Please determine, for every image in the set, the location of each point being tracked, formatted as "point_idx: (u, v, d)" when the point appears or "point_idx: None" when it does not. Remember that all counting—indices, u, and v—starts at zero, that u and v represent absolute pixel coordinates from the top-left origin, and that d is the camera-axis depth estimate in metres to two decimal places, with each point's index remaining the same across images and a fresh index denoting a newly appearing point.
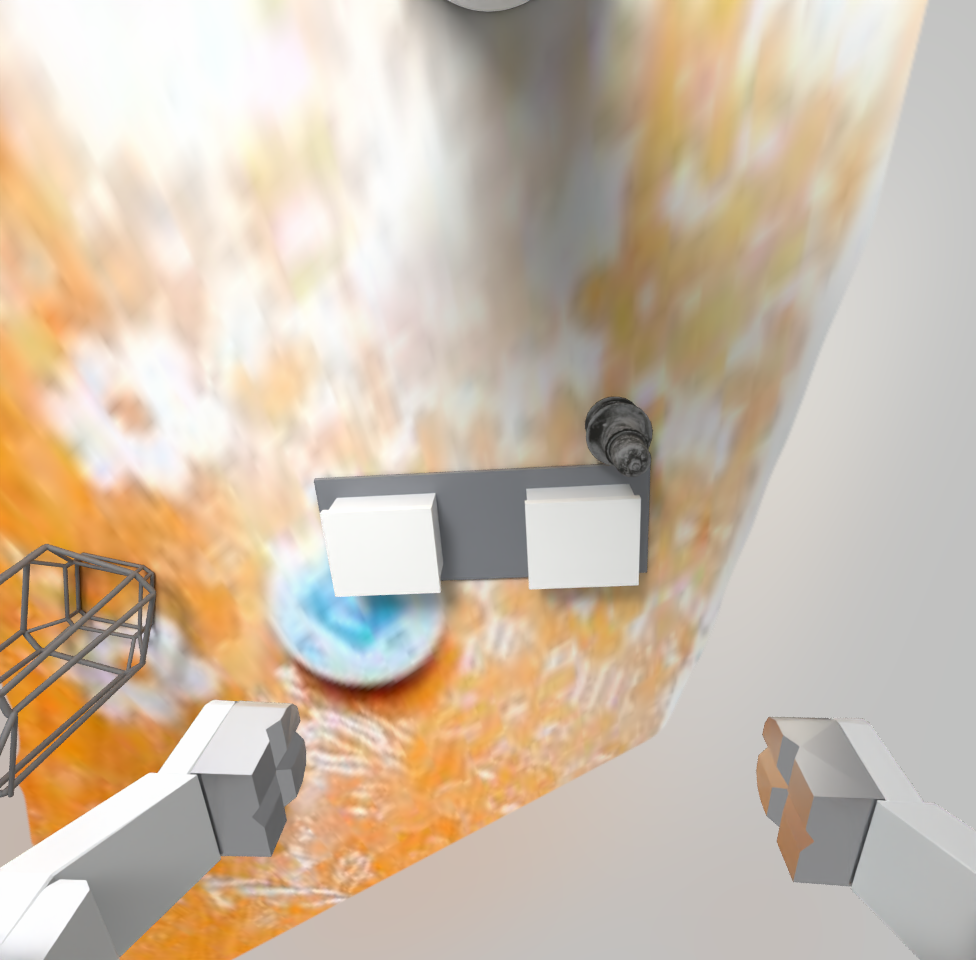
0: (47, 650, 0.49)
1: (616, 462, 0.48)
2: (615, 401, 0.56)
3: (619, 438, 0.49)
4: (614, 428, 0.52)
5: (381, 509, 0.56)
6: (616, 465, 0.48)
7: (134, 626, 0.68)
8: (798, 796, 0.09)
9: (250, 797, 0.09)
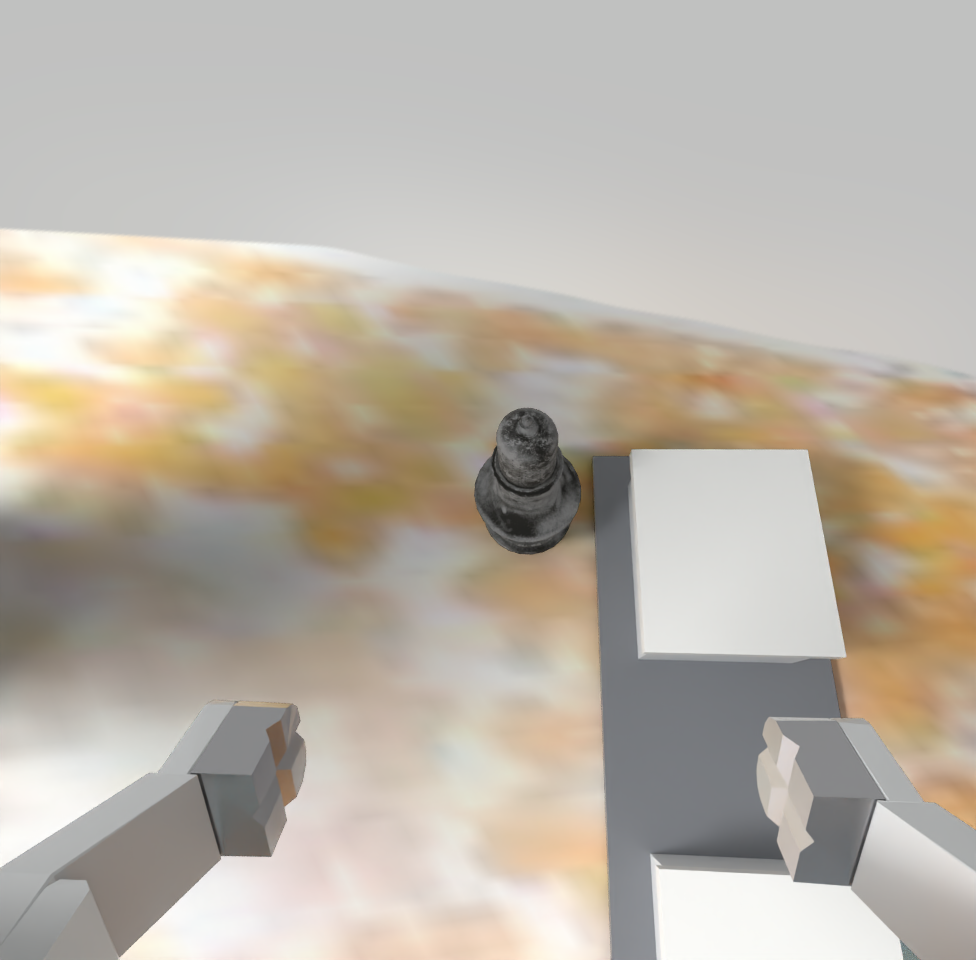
0: None
1: (527, 461, 0.27)
2: None
3: (502, 469, 0.29)
4: (503, 490, 0.31)
5: None
6: (533, 461, 0.27)
7: None
8: (798, 796, 0.09)
9: (250, 797, 0.09)
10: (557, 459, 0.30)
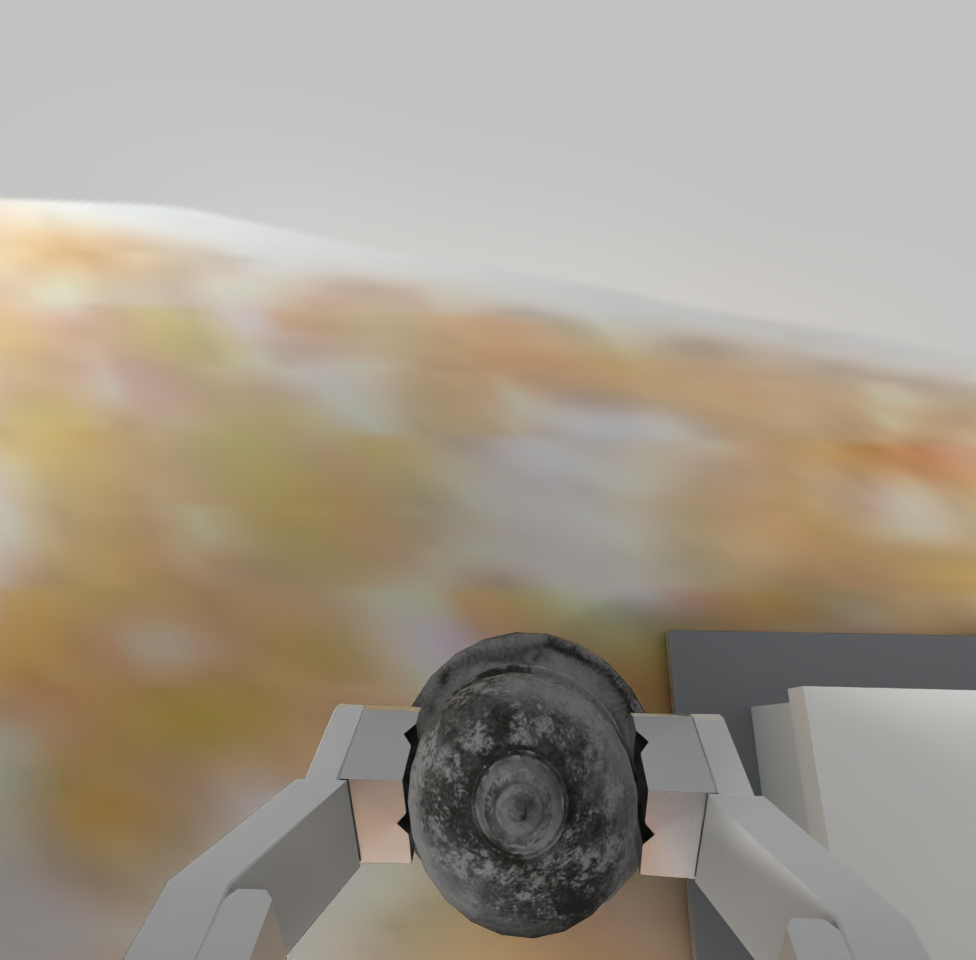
0: None
1: (519, 934, 0.07)
2: None
3: None
4: None
5: None
6: (544, 933, 0.07)
7: None
8: (641, 790, 0.09)
9: (397, 803, 0.09)
10: None
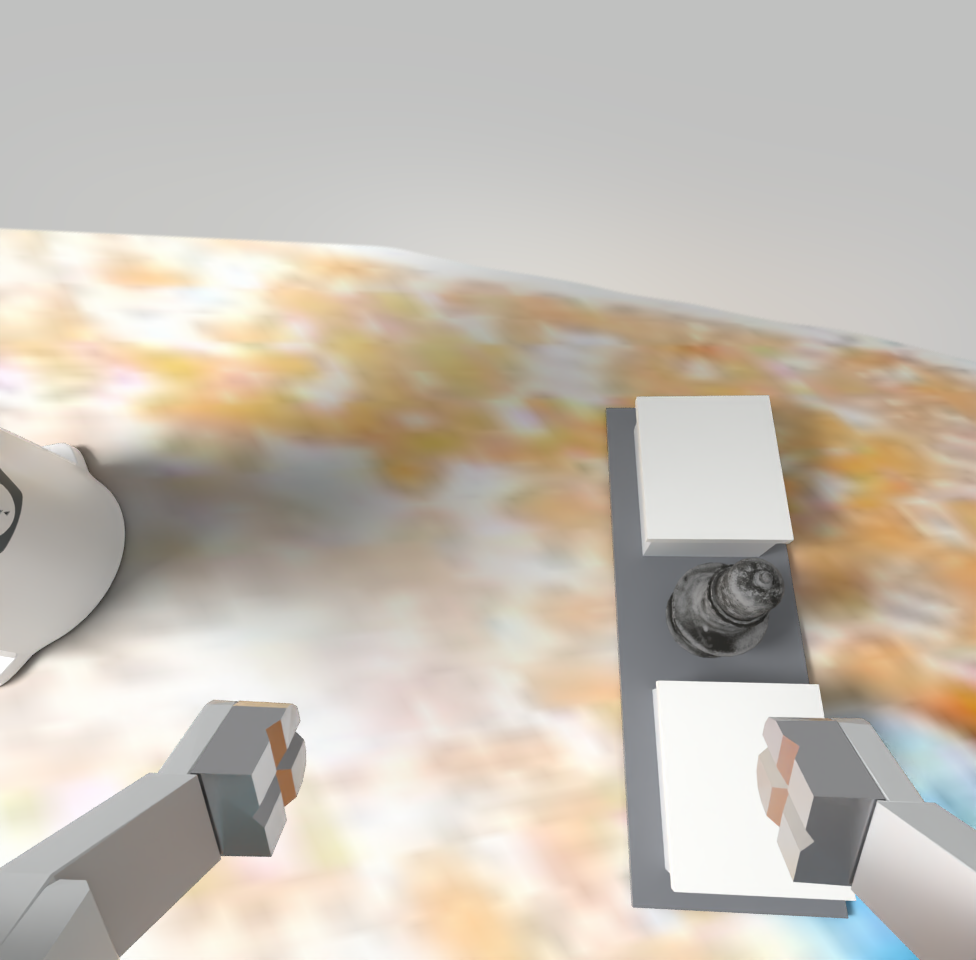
0: None
1: (762, 608, 0.31)
2: (671, 615, 0.41)
3: (722, 604, 0.33)
4: (709, 614, 0.36)
5: (664, 769, 0.34)
6: (767, 608, 0.31)
7: None
8: (798, 796, 0.09)
9: (250, 797, 0.09)
10: None
